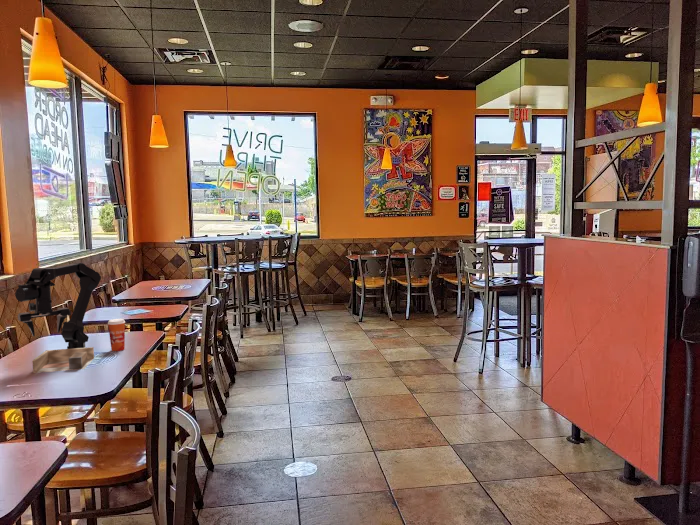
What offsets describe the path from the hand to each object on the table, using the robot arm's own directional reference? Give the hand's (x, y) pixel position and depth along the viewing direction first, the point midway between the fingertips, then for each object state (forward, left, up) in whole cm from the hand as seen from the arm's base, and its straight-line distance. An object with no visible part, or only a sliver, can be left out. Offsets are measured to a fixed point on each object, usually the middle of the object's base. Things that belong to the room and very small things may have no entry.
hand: (46, 334), depth 225 cm
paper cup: (-24, -18, -13) cm, 33 cm away
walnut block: (-14, +8, -12) cm, 20 cm away
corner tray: (-8, +6, -13) cm, 16 cm away
